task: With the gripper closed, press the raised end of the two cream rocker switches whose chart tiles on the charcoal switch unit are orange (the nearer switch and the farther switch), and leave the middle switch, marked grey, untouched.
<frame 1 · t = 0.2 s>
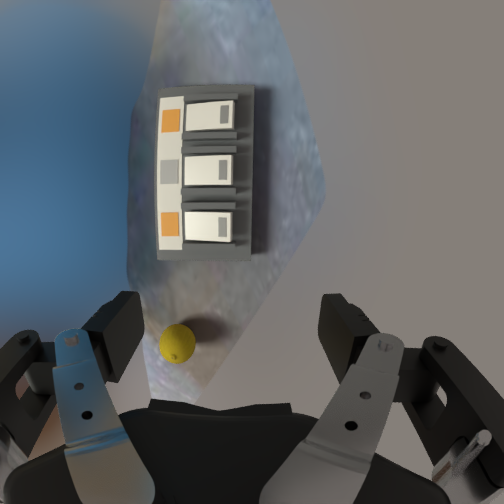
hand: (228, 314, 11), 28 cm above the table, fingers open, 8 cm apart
switch 1: (208, 225, 34), point 5 cm above the table, hinge at 12.0°
switch mid: (208, 170, 32), point 5 cm above the table, hinge at 12.0°
lemon: (182, 329, 43), on the table
switch 2: (209, 116, 30), point 5 cm above the table, hinge at 12.0°
switch unit: (205, 171, 37), on the table
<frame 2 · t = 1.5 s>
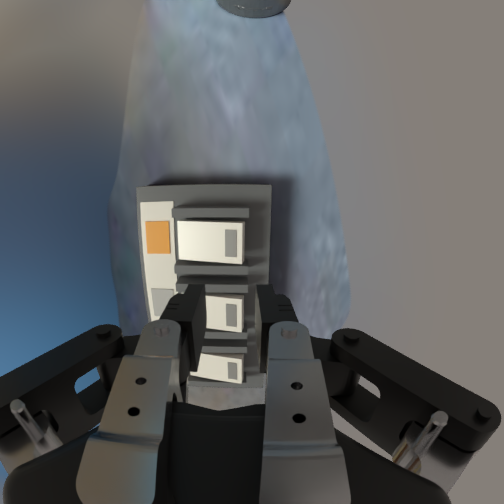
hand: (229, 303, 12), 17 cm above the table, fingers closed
switch 1: (215, 365, 28), point 5 cm above the table, hinge at 12.0°
switch mid: (212, 310, 26), point 5 cm above the table, hinge at 12.0°
switch 2: (210, 240, 24), point 5 cm above the table, hinge at 12.0°
switch unit: (207, 292, 30), on the table
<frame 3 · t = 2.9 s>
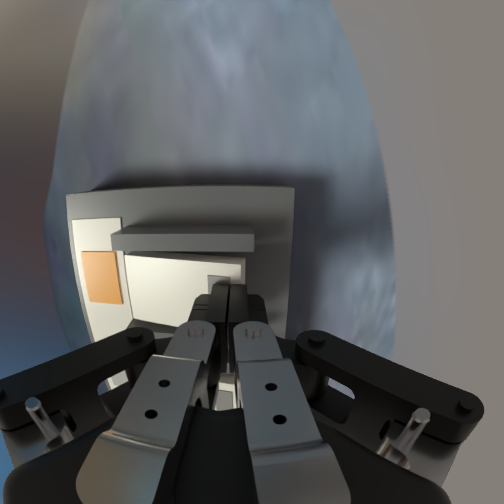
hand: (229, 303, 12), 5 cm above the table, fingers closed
switch mid: (195, 392, 15), point 5 cm above the table, hinge at 12.0°
switch 2: (183, 291, 13), point 5 cm above the table, hinge at 11.9°, touching gripper
switch unit: (189, 350, 19), on the table
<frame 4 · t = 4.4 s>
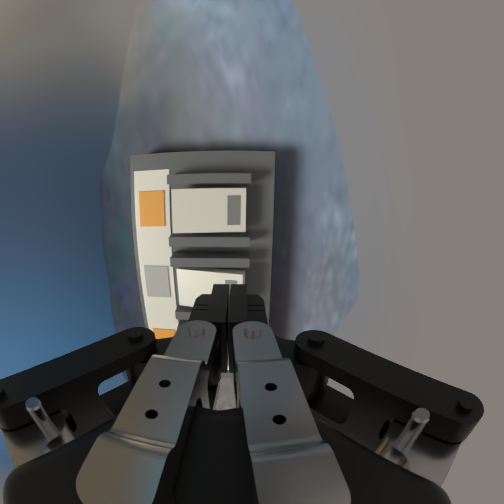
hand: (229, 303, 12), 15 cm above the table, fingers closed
switch 1: (214, 351, 26), point 5 cm above the table, hinge at 12.0°
switch mid: (210, 288, 24), point 5 cm above the table, hinge at 12.0°
switch 2: (208, 209, 22), point 5 cm above the table, hinge at -6.2°
switch unit: (205, 271, 28), on the table
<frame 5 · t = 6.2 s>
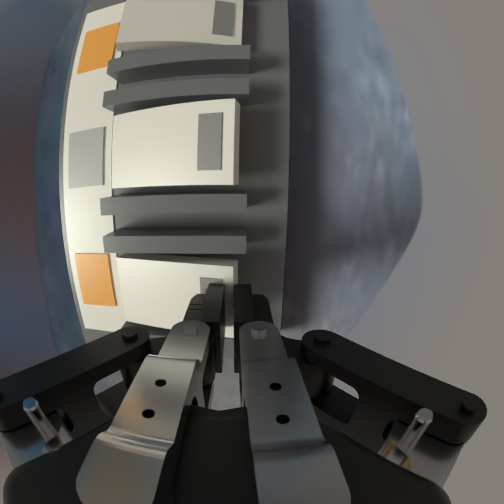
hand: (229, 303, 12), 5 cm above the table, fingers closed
switch 1: (175, 294, 13), point 5 cm above the table, hinge at 11.0°, touching gripper
switch mid: (170, 145, 11), point 5 cm above the table, hinge at 12.0°
switch 2: (181, 18, 9), point 5 cm above the table, hinge at -19.3°
switch unit: (172, 154, 15), on the table
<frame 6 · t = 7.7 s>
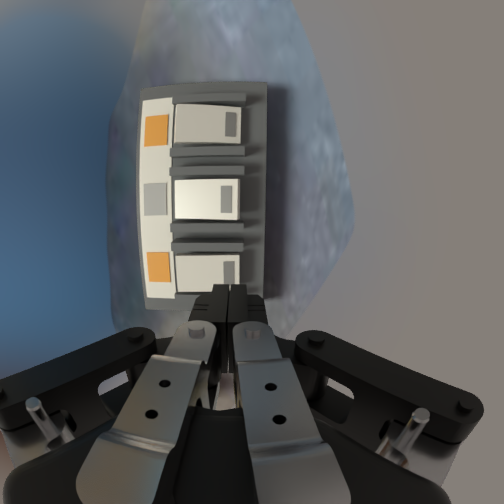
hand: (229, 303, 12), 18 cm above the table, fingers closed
switch 1: (207, 272, 26), point 5 cm above the table, hinge at -4.6°
switch mid: (206, 198, 24), point 5 cm above the table, hinge at 12.0°
switch 2: (207, 124, 23), point 5 cm above the table, hinge at -19.2°
switch unit: (202, 196, 29), on the table
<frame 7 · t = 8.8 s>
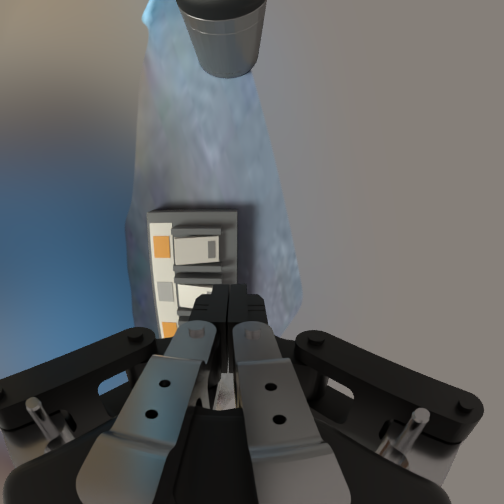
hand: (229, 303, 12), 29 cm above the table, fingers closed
switch mid: (198, 296, 39), point 5 cm above the table, hinge at 12.0°
switch 2: (196, 249, 37), point 5 cm above the table, hinge at -17.4°
switch unit: (196, 284, 43), on the table
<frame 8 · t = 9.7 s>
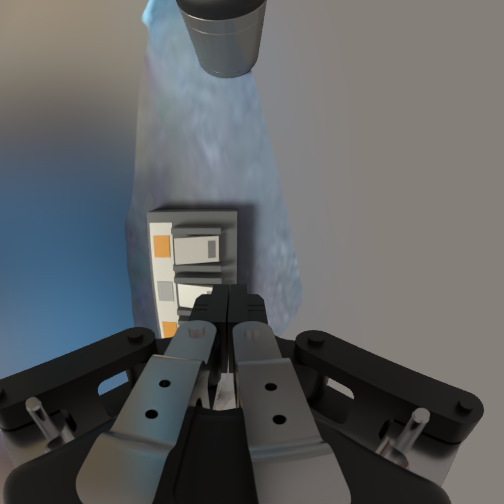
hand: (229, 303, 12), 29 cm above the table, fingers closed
switch mid: (198, 296, 39), point 5 cm above the table, hinge at 12.0°
switch 2: (196, 249, 37), point 5 cm above the table, hinge at -16.5°
switch unit: (196, 284, 43), on the table
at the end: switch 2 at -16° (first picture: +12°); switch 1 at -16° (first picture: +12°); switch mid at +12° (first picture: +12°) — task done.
